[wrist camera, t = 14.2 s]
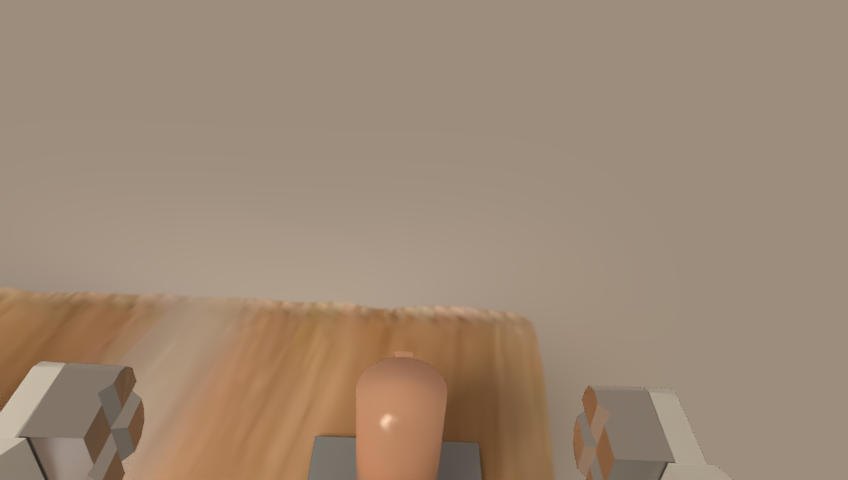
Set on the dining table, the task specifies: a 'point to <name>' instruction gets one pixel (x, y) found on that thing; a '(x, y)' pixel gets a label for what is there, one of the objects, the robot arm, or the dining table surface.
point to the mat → (338, 460)
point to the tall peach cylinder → (399, 420)
